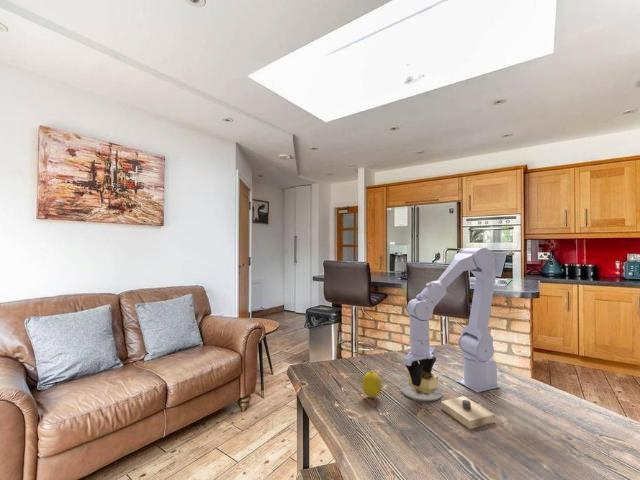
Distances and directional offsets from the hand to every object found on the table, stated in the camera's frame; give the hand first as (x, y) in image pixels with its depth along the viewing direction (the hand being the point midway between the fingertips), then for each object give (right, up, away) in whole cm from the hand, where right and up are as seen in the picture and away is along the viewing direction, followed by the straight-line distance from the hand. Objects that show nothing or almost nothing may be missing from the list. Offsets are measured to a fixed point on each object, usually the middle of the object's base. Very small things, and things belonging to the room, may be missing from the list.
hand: (420, 382), depth 94 cm
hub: (0, -3, 0) cm, 3 cm away
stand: (+8, -2, -13) cm, 16 cm away
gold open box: (0, -1, 0) cm, 1 cm away
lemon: (-16, -3, -3) cm, 16 cm away
